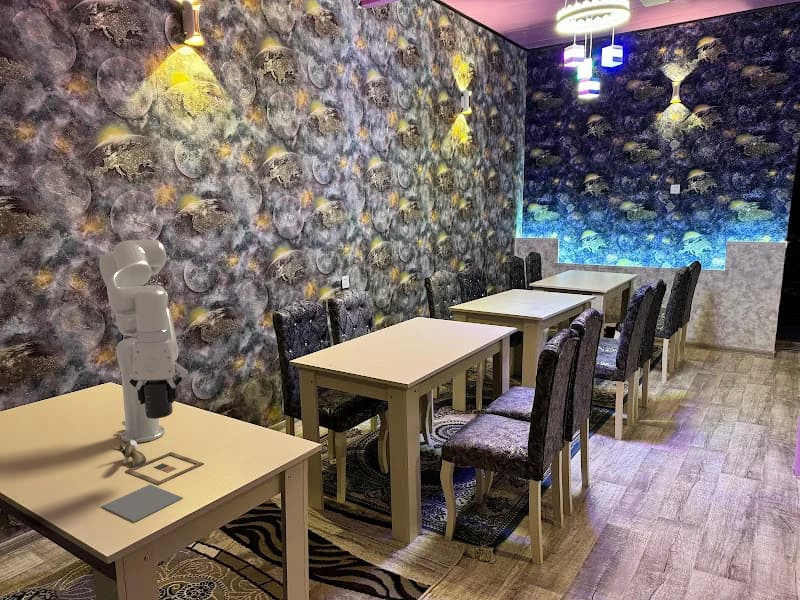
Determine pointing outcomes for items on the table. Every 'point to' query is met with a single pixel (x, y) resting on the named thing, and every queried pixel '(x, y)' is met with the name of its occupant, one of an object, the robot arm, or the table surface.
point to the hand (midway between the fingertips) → (158, 401)
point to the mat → (142, 503)
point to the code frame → (165, 468)
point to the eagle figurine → (132, 453)
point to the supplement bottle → (157, 399)
